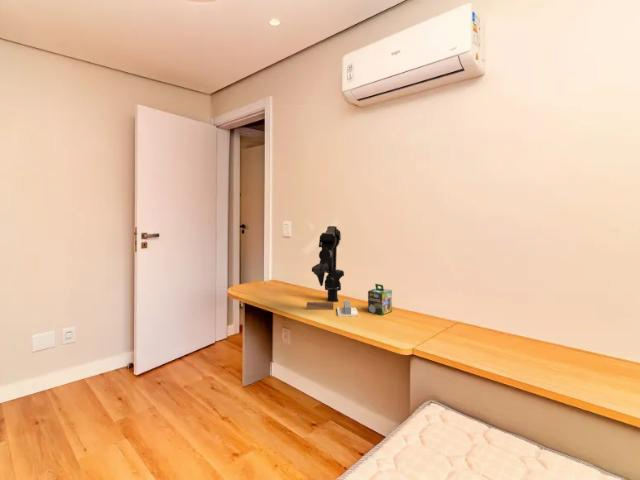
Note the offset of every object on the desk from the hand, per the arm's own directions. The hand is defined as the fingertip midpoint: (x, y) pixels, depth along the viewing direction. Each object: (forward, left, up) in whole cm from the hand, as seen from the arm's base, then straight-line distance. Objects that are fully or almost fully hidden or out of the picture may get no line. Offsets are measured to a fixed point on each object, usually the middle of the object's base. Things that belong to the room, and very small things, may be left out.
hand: (327, 287), depth 182 cm
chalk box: (-1, +27, -13) cm, 30 cm away
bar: (-5, -4, -13) cm, 15 cm away
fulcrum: (+1, +10, -13) cm, 16 cm away
